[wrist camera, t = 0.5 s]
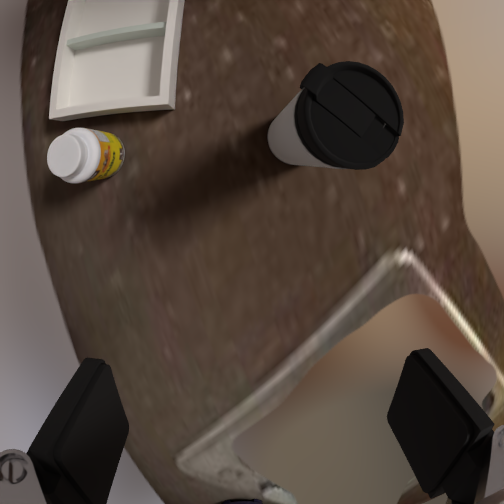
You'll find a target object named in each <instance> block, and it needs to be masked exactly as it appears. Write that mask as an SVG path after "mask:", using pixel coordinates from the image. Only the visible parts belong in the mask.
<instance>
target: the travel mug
mask: <svg viewBox="0 0 504 504" xmlns="http://www.w3.org/2000/svg"><path fill="white" fill-rule="evenodd" d="M300 88H301V89H302V90H301V91H300V92H299V93H298V94H297V95H296V96H295V97H294V98H293V99H292V101H291V102H290V103H289V104H288V105H287V106H286V107H285V108H284V109H283V110H282V112H281V113H280V114H279V115H278V116H277V117H276V118H275V119H274V120H273V122H272V123H271V125H270V127H269V130H268V135H267V139H268V145H269V148H270V150H271V151H272V153H273V154H274V155H275V157H277V158H278V159H279V160H281V161H282V162H284V163H287V164H291V165H302V166H314V167H326V168H336V169H355V170H359V169H369V168H373V167H375V166H377V165H378V164H379V163H381V162H382V161H384V160H385V158H387V157H389V155H390V154H391V153H392V152H393V151H394V149H395V147H396V145H397V143H398V139H399V136H401V132H402V128H403V124H404V119H403V110H402V106H401V102H400V100H399V97H398V95H397V93H396V91H395V89H394V88H393V86H392V85H391V83H390V82H389V81H388V80H387V79H386V78H385V77H384V76H383V75H382V74H381V73H379V72H378V71H377V70H375V69H373V68H371V67H370V66H368V65H365V64H362V63H359V62H350V61H346V62H338V63H335V64H332V65H330V66H328V67H326V66H324V65H323V64H321V63H319V64H318V65H317V66H315V67H314V68H312V69H311V70H310V71H309V73H308V74H307V75H306V76H305V78H304V79H303V81H302V82H301V85H300Z"/></svg>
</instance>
